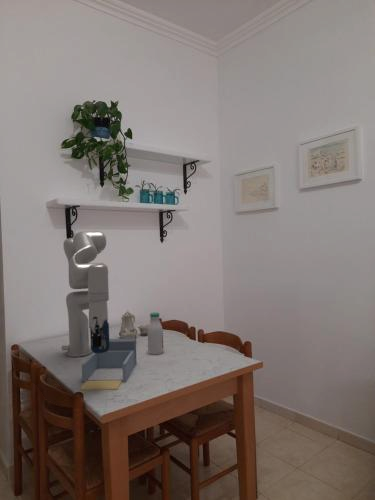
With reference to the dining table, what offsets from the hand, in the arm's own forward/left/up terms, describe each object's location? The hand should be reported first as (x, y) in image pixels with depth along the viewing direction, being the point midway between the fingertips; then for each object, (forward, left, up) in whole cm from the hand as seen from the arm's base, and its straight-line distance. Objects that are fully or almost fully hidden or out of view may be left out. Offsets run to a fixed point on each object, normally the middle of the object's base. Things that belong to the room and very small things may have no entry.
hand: (100, 343), depth 136 cm
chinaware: (-2, +72, -18) cm, 74 cm away
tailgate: (0, +4, -16) cm, 17 cm away
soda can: (0, 0, -3) cm, 3 cm away
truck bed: (0, +15, -17) cm, 23 cm away
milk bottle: (+15, +44, -18) cm, 50 cm away
